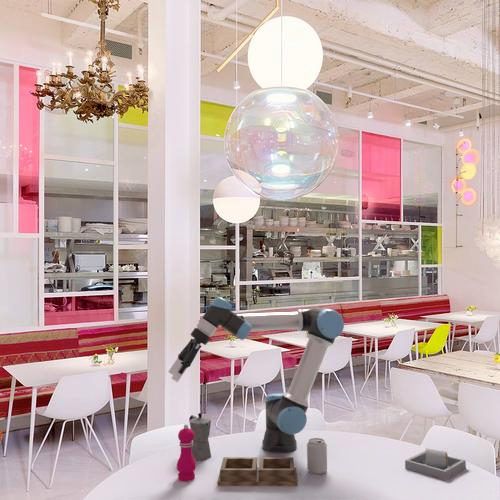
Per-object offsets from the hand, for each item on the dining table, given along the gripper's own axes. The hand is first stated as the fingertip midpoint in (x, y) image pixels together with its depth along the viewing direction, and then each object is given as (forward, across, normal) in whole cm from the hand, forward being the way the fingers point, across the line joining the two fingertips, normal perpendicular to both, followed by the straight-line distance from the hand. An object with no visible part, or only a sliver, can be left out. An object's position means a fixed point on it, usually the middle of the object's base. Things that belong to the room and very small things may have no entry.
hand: (172, 376), depth 208 cm
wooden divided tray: (+12, +18, +45) cm, 50 cm away
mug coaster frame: (-29, +28, +101) cm, 108 cm away
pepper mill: (+27, +11, +24) cm, 38 cm away
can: (-2, +18, +64) cm, 67 cm away
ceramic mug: (-29, +27, +101) cm, 108 cm away
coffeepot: (+22, -12, +31) cm, 40 cm away
